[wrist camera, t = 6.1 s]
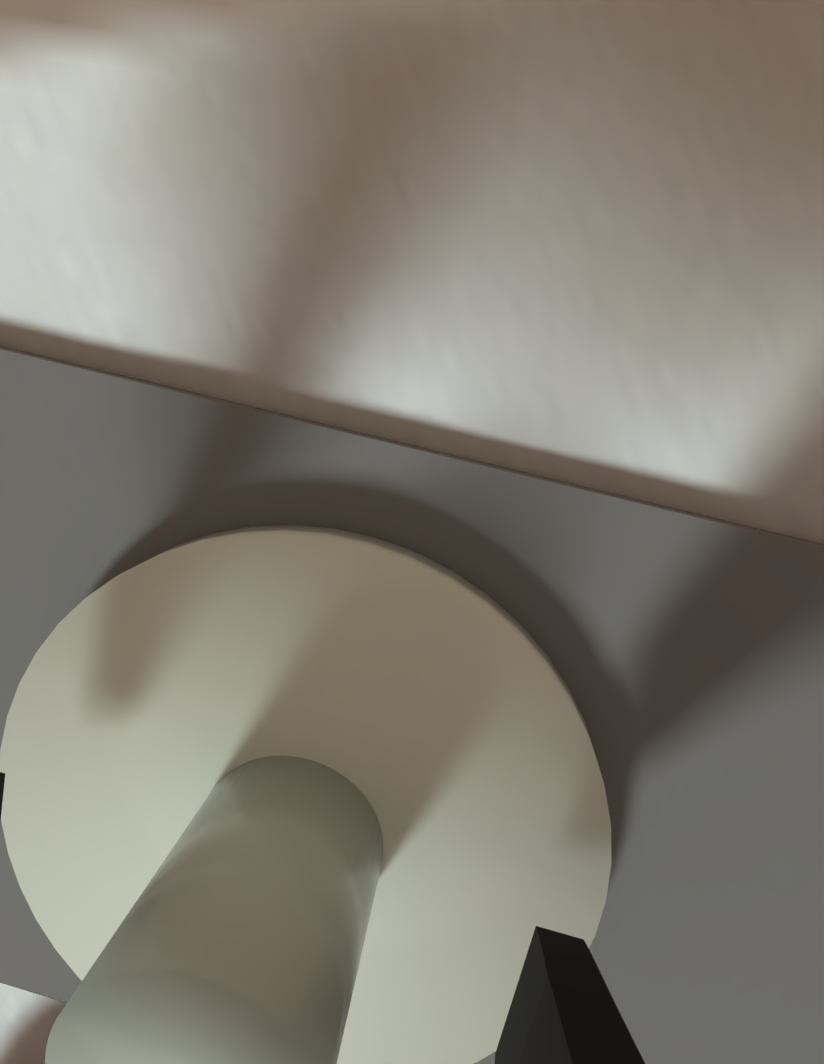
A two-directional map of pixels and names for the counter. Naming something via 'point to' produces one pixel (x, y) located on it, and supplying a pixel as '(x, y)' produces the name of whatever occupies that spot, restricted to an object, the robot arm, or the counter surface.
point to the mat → (555, 624)
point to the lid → (297, 806)
